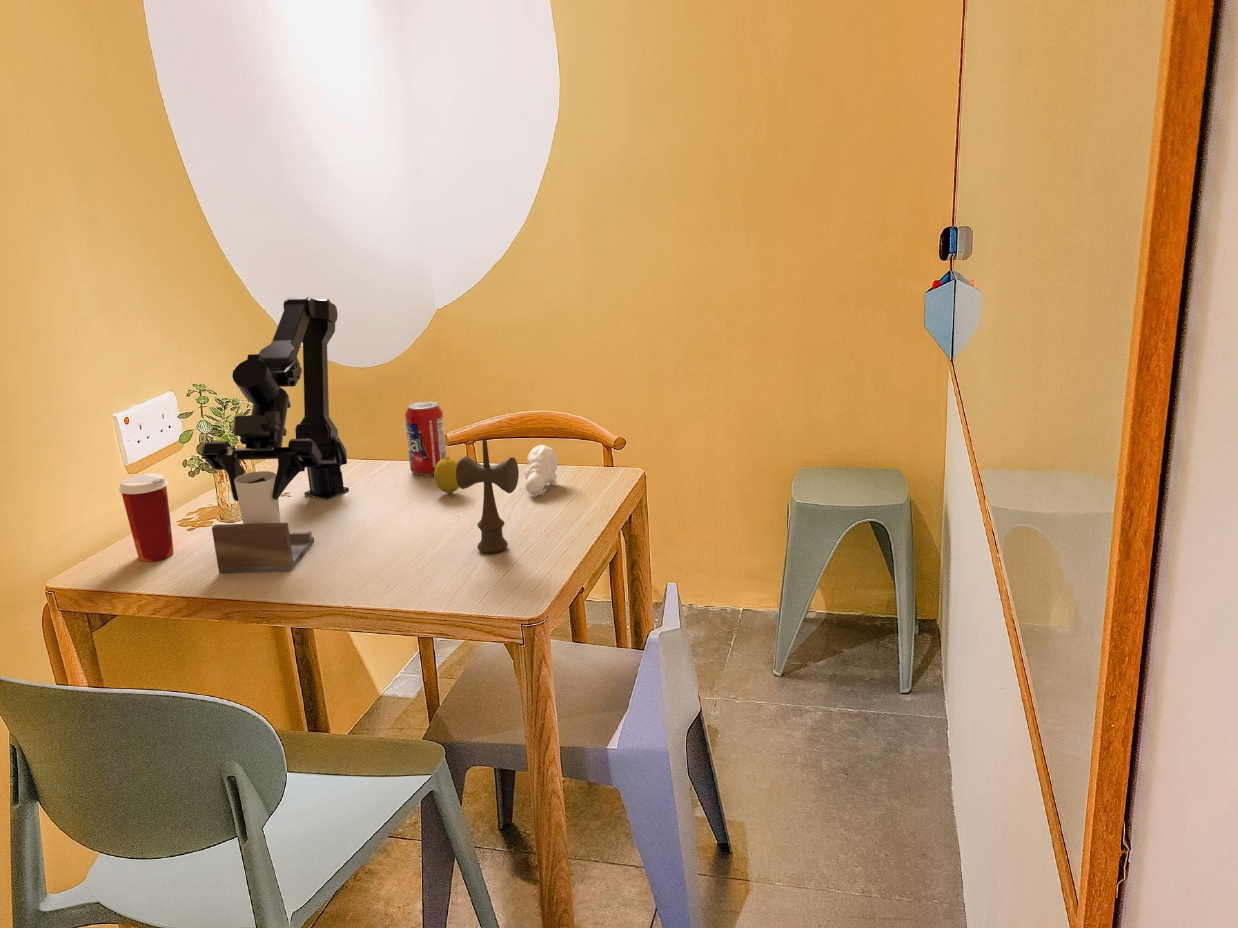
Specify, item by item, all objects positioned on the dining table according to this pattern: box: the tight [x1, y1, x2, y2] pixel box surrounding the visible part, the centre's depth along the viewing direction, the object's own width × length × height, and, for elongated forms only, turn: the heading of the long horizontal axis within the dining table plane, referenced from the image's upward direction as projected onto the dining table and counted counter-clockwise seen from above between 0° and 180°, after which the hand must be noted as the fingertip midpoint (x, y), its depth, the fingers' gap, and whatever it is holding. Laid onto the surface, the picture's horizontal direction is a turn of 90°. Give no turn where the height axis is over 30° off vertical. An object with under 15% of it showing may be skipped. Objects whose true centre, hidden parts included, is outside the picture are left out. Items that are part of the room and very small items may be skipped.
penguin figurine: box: [523, 444, 559, 498], centre depth 200 cm, size 6×8×12 cm
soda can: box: [404, 400, 447, 477], centre depth 214 cm, size 8×8×15 cm
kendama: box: [456, 437, 520, 554], centre depth 169 cm, size 6×10×20 cm, turn 74°
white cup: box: [234, 470, 282, 524], centre depth 168 cm, size 7×7×10 cm
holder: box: [211, 522, 315, 574], centre depth 171 cm, size 13×12×8 cm
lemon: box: [433, 455, 459, 496], centre depth 200 cm, size 6×6×8 cm
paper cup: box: [118, 473, 174, 563], centre depth 172 cm, size 8×8×14 cm
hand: (255, 499), depth 167 cm, fingers closed on white cup, 6 cm apart
